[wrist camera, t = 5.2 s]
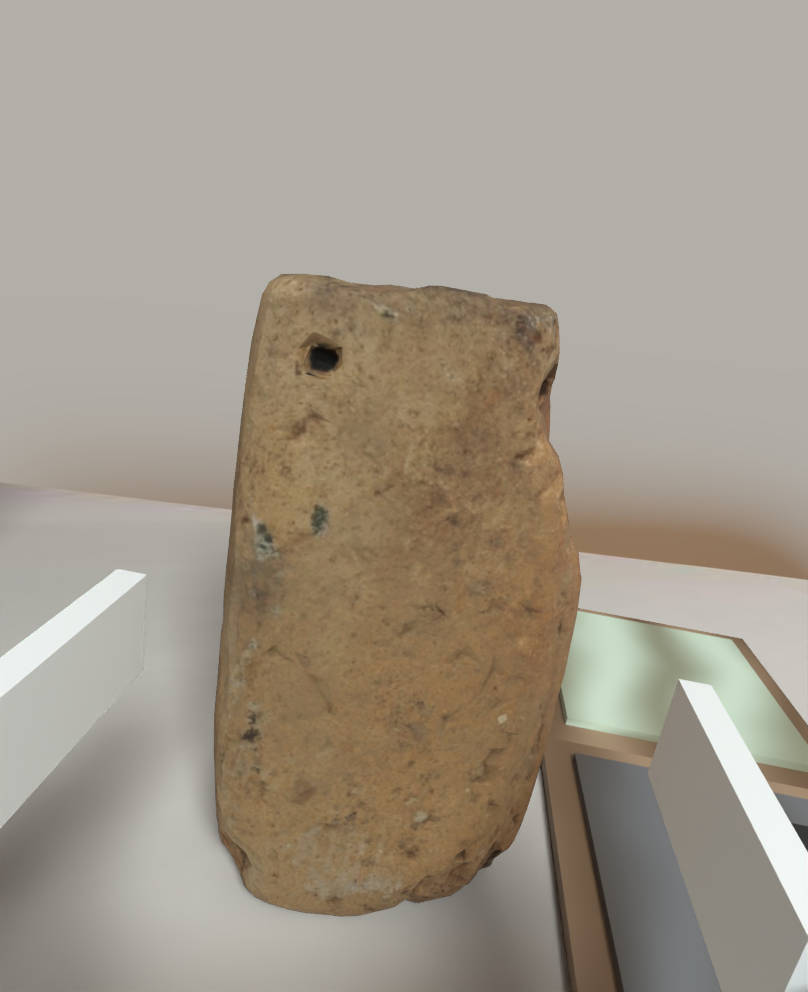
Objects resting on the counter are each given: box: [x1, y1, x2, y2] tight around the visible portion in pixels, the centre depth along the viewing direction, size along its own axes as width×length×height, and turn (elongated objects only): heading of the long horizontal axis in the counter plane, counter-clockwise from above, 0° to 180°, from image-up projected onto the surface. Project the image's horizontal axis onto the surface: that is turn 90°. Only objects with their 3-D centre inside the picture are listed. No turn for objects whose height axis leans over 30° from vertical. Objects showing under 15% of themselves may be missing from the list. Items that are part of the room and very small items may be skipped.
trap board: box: [541, 608, 808, 992], centre depth 32 cm, size 30×30×1 cm
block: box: [214, 274, 581, 916], centre depth 22 cm, size 11×8×20 cm
